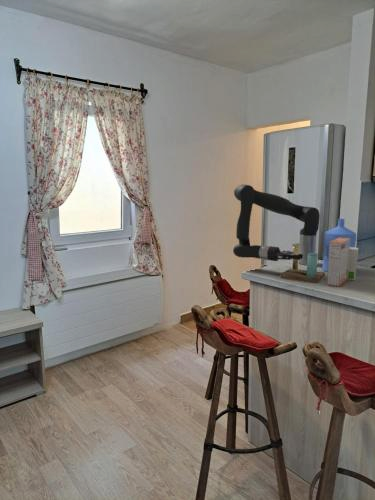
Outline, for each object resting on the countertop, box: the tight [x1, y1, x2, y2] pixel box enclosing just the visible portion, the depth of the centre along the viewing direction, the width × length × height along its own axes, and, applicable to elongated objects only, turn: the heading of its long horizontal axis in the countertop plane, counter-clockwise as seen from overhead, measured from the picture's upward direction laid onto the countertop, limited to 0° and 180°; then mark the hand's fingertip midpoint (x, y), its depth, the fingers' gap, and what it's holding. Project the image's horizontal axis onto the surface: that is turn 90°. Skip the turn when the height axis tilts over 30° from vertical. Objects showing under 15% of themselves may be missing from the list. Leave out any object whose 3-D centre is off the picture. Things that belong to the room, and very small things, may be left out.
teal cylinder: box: [306, 252, 319, 278], centre depth 174 cm, size 5×5×12 cm
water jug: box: [322, 218, 357, 273], centre depth 193 cm, size 16×16×28 cm
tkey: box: [291, 242, 307, 274], centre depth 181 cm, size 5×10×14 cm, turn 35°
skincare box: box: [347, 246, 359, 281], centre depth 179 cm, size 8×7×16 cm
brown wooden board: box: [279, 268, 326, 284], centre depth 182 cm, size 15×18×2 cm
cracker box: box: [327, 238, 351, 287], centre depth 170 cm, size 14×6×21 cm, turn 141°
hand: (301, 257), depth 183 cm, fingers closed on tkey, 2 cm apart
